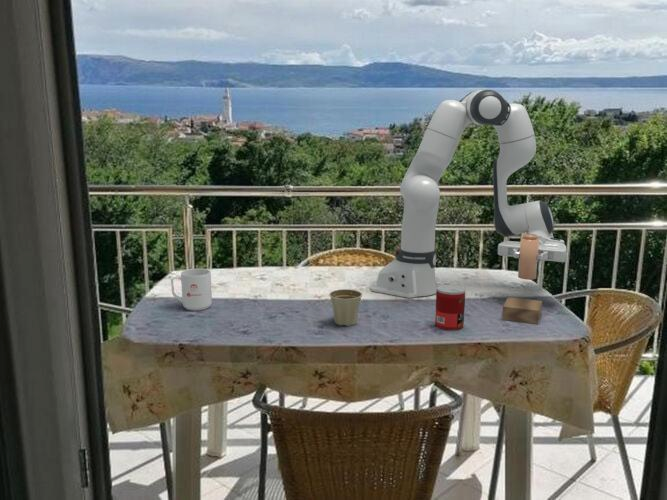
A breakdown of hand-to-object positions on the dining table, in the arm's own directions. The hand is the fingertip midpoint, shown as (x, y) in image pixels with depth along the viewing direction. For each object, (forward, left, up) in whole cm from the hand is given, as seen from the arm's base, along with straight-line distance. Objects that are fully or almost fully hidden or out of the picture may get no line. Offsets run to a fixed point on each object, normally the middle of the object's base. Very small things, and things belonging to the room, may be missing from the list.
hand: (528, 256), depth 192 cm
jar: (0, +1, -7) cm, 7 cm away
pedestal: (0, -6, -17) cm, 18 cm away
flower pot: (-46, -31, -17) cm, 58 cm away
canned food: (-18, -22, -17) cm, 33 cm away
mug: (-95, -36, -17) cm, 103 cm away
